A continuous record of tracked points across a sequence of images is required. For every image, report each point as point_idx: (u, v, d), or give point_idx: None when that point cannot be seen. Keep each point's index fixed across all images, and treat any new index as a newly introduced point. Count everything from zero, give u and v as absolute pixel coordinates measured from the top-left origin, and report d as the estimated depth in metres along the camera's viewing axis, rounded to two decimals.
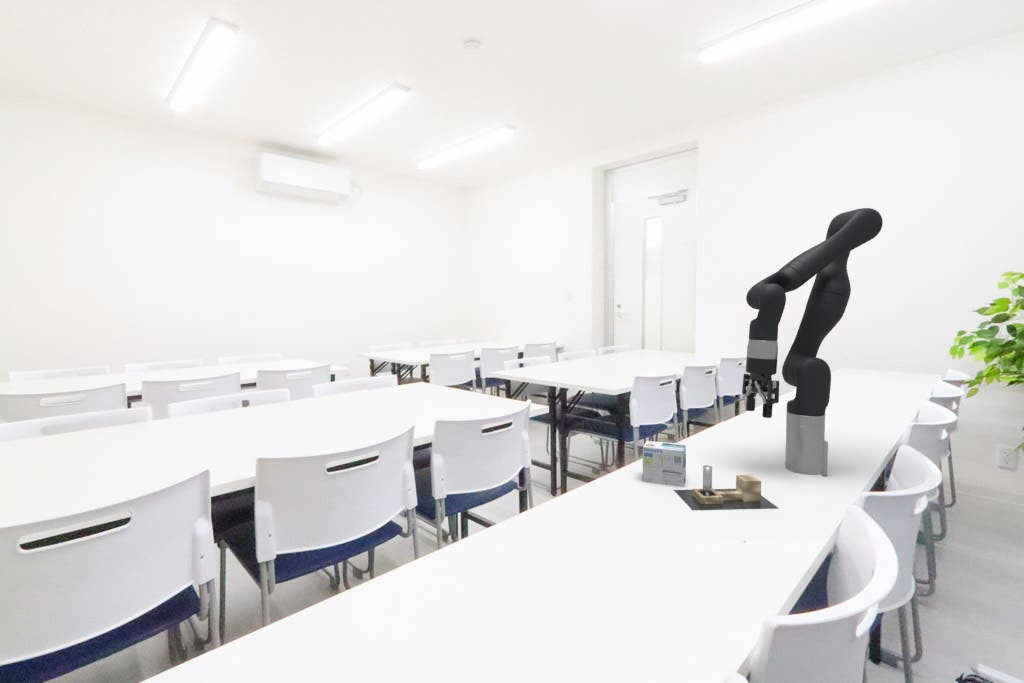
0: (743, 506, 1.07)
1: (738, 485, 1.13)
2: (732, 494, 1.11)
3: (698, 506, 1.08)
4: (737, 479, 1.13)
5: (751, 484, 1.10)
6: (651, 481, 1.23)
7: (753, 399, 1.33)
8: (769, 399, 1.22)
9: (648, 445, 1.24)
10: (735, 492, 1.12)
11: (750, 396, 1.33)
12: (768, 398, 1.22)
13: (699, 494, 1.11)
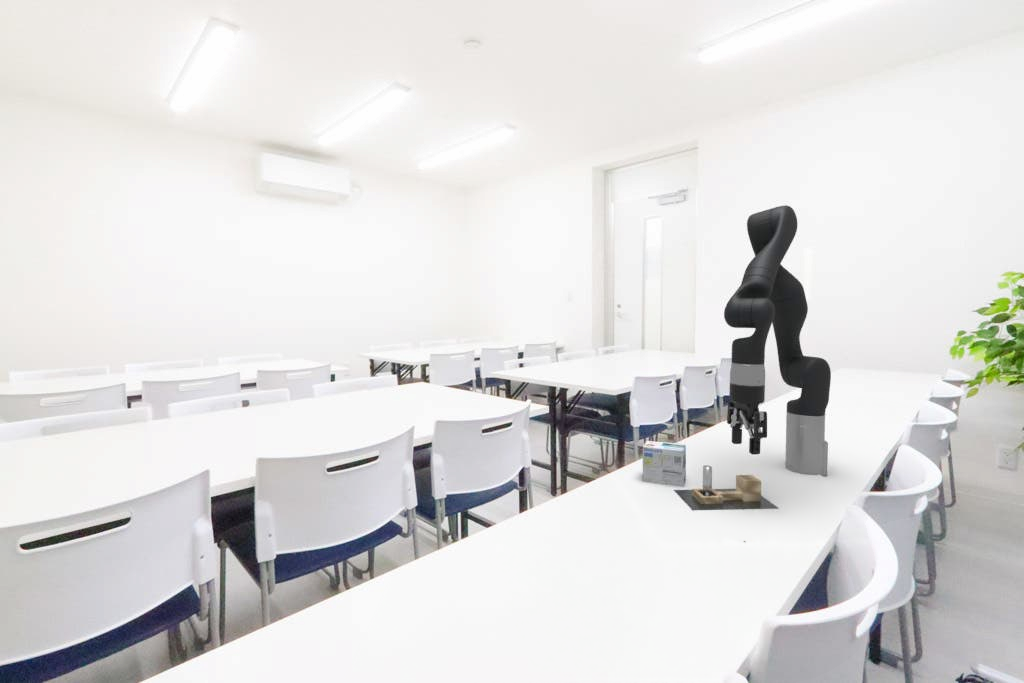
0: (743, 506, 1.07)
1: (738, 485, 1.13)
2: (732, 494, 1.11)
3: (698, 506, 1.08)
4: (737, 479, 1.13)
5: (751, 484, 1.10)
6: (651, 481, 1.23)
7: (739, 430, 1.15)
8: (756, 433, 1.04)
9: (648, 445, 1.24)
10: (735, 492, 1.12)
11: (736, 427, 1.15)
12: (755, 432, 1.05)
13: (699, 494, 1.11)
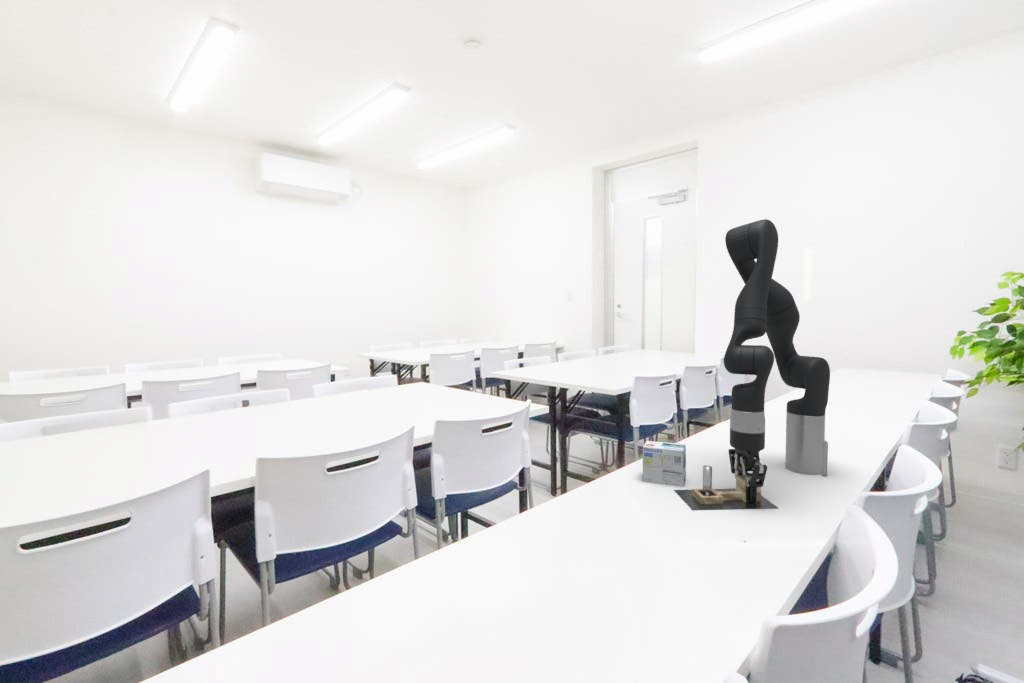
0: (743, 506, 1.07)
1: (738, 485, 1.13)
2: (732, 494, 1.11)
3: (698, 506, 1.08)
4: (737, 479, 1.13)
5: None
6: (651, 481, 1.23)
7: None
8: (752, 483, 1.07)
9: (648, 445, 1.24)
10: (735, 492, 1.12)
11: None
12: (751, 481, 1.07)
13: (699, 494, 1.11)
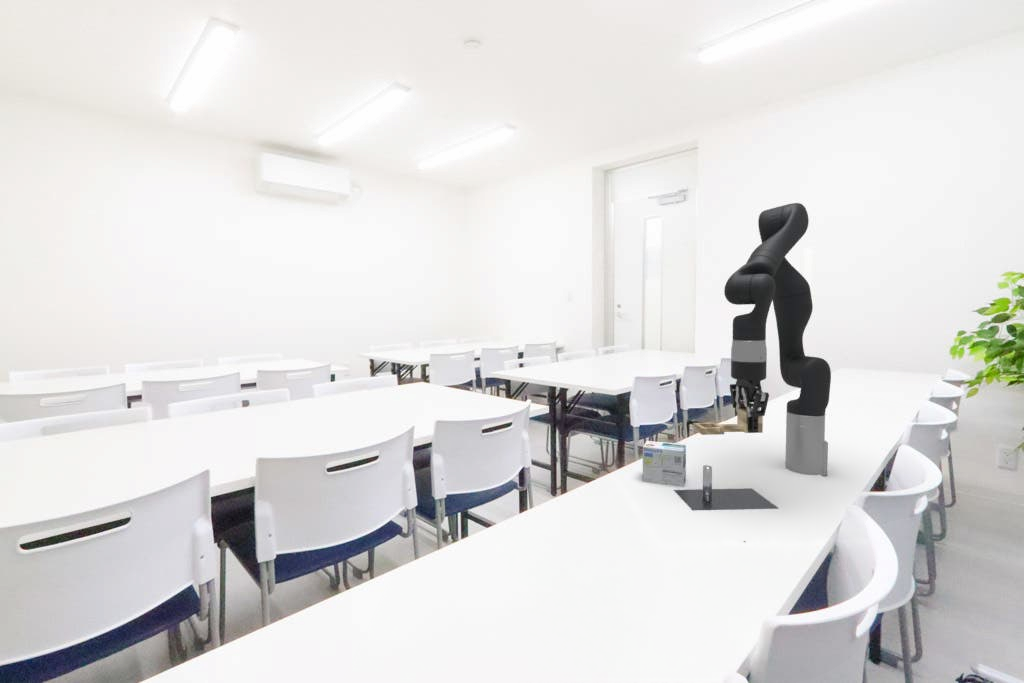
0: (743, 506, 1.07)
1: (739, 418, 1.12)
2: (733, 426, 1.10)
3: (698, 506, 1.08)
4: (739, 412, 1.12)
5: None
6: (651, 481, 1.23)
7: None
8: (754, 412, 1.06)
9: (648, 445, 1.24)
10: (736, 425, 1.10)
11: None
12: (753, 411, 1.06)
13: (700, 426, 1.10)
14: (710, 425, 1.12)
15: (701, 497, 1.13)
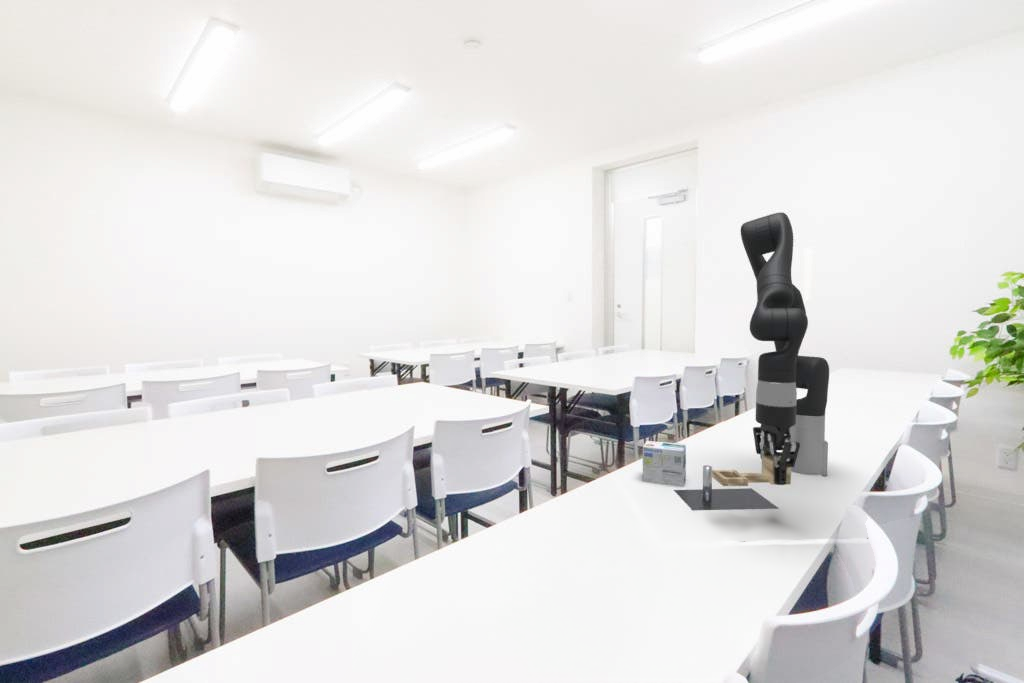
0: (743, 506, 1.07)
1: (764, 466, 1.00)
2: (758, 476, 0.99)
3: (698, 506, 1.08)
4: (764, 460, 1.00)
5: None
6: (651, 481, 1.23)
7: None
8: (782, 463, 0.94)
9: (648, 445, 1.24)
10: (761, 474, 0.99)
11: None
12: (781, 461, 0.95)
13: (721, 476, 0.99)
14: (731, 473, 1.01)
15: (701, 497, 1.13)
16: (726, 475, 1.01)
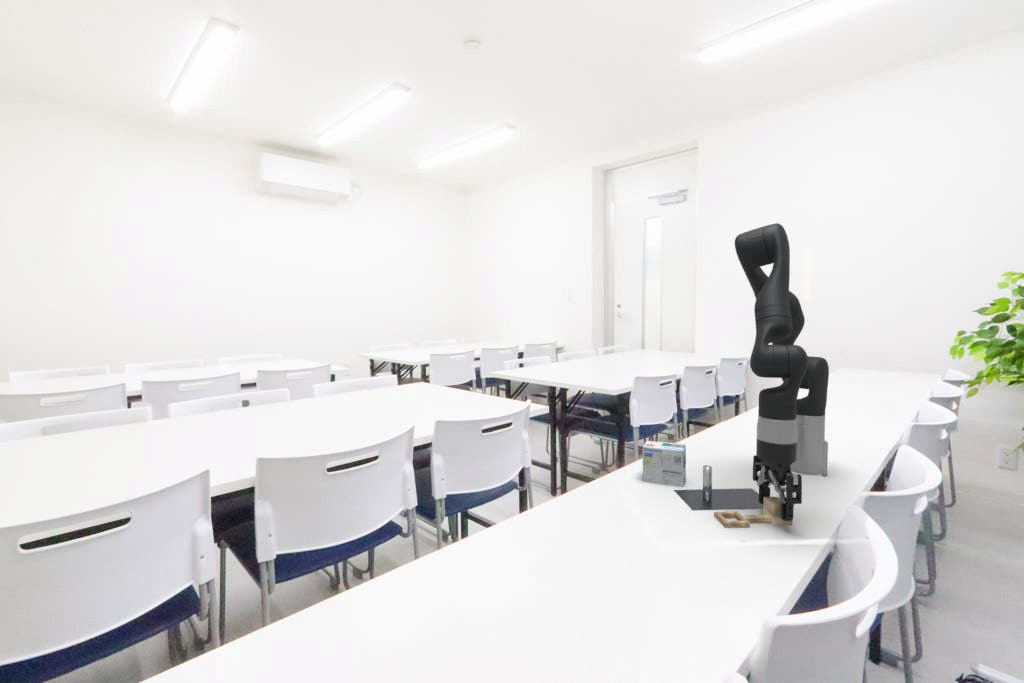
0: (743, 506, 1.07)
1: (765, 508, 1.01)
2: (760, 519, 0.99)
3: (698, 506, 1.08)
4: (765, 502, 1.01)
5: None
6: (651, 481, 1.23)
7: (767, 489, 1.04)
8: (789, 499, 0.93)
9: (648, 445, 1.24)
10: (763, 517, 1.00)
11: (763, 485, 1.04)
12: (788, 498, 0.93)
13: (723, 519, 0.99)
14: (733, 515, 1.02)
15: (701, 497, 1.13)
16: (728, 517, 1.02)
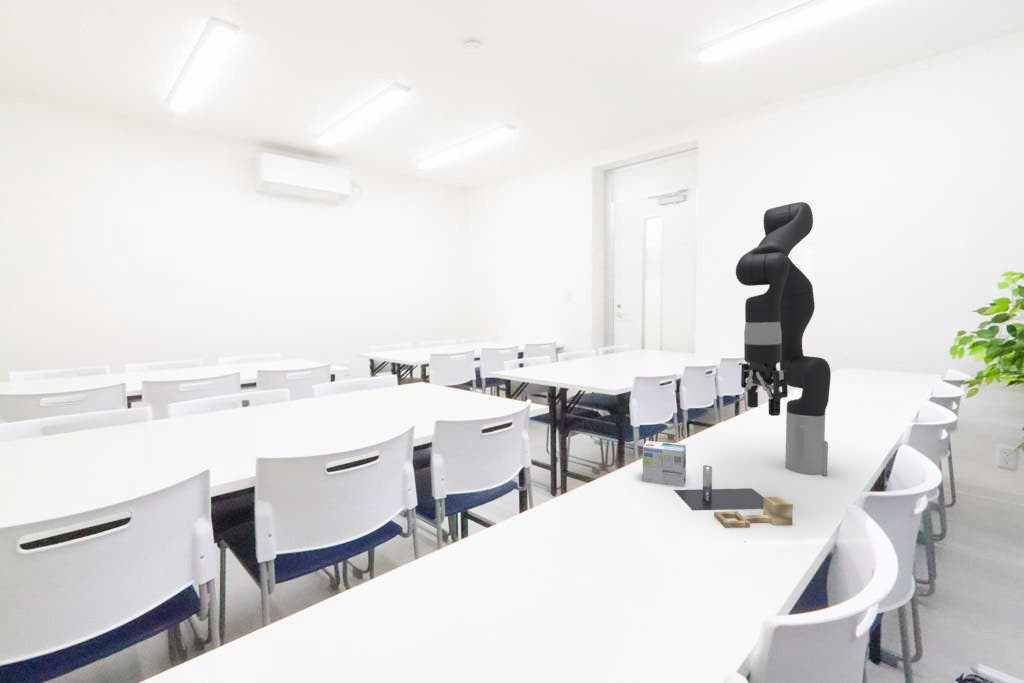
0: (743, 506, 1.07)
1: (765, 508, 1.01)
2: (760, 519, 0.99)
3: (698, 506, 1.08)
4: (765, 502, 1.01)
5: (781, 508, 0.98)
6: (651, 481, 1.23)
7: (755, 393, 1.11)
8: (776, 393, 1.00)
9: (648, 445, 1.24)
10: (763, 517, 1.00)
11: (751, 390, 1.11)
12: (775, 392, 1.00)
13: (723, 519, 0.99)
14: (733, 515, 1.02)
15: (701, 497, 1.13)
16: (728, 517, 1.02)
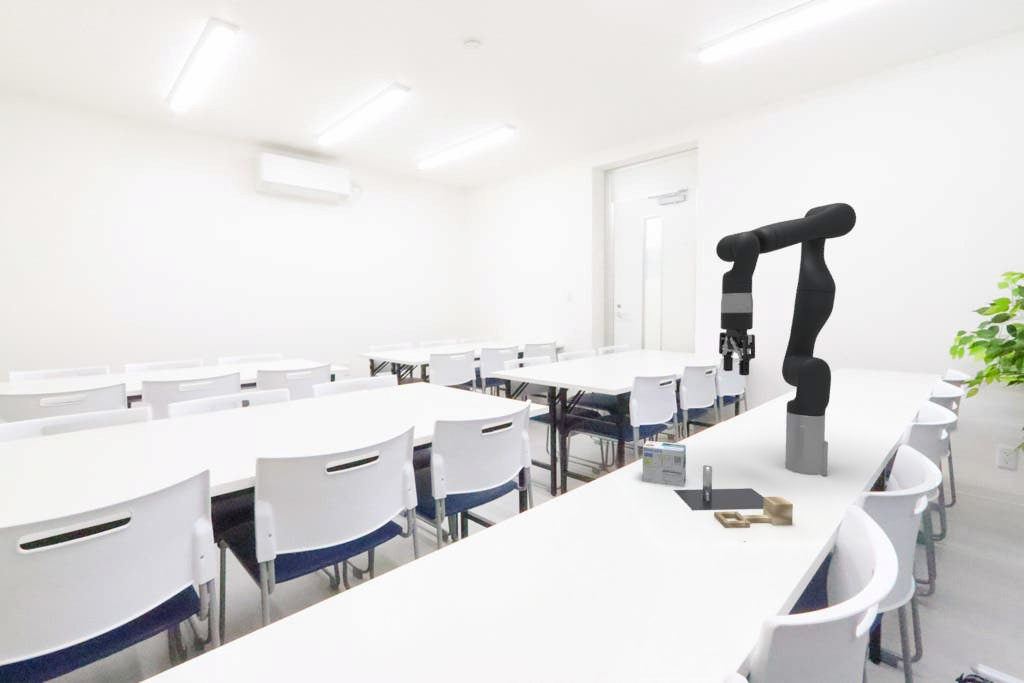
0: (743, 506, 1.07)
1: (765, 508, 1.01)
2: (760, 519, 0.99)
3: (698, 506, 1.08)
4: (765, 502, 1.01)
5: (781, 508, 0.98)
6: (651, 481, 1.23)
7: (730, 358, 1.25)
8: (745, 354, 1.14)
9: (648, 445, 1.24)
10: (763, 517, 1.00)
11: (727, 355, 1.25)
12: (744, 354, 1.14)
13: (723, 519, 0.99)
14: (733, 515, 1.02)
15: (701, 497, 1.13)
16: (728, 517, 1.02)
